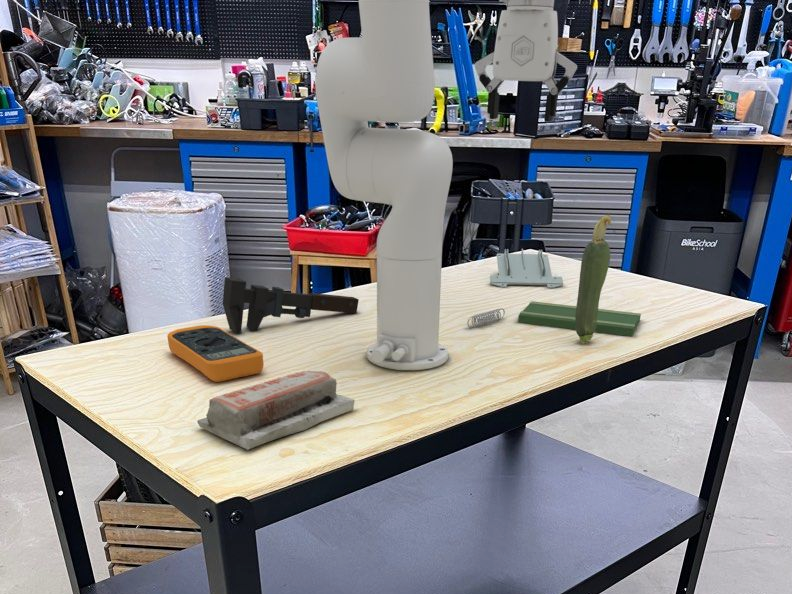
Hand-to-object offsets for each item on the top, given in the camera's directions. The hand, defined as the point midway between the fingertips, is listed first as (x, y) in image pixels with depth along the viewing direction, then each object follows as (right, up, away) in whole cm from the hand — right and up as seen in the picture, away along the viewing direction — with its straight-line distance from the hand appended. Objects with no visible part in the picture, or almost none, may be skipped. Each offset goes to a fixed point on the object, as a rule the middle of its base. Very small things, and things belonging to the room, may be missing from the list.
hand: (520, 119), depth 137 cm
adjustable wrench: (-39, -35, +2) cm, 52 cm away
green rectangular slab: (+11, -34, +5) cm, 36 cm away
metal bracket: (+5, -17, +31) cm, 36 cm away
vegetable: (+10, -40, -5) cm, 41 cm away
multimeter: (-49, -46, -17) cm, 69 cm away
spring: (-6, -35, +3) cm, 35 cm away
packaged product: (-36, -58, -35) cm, 77 cm away
